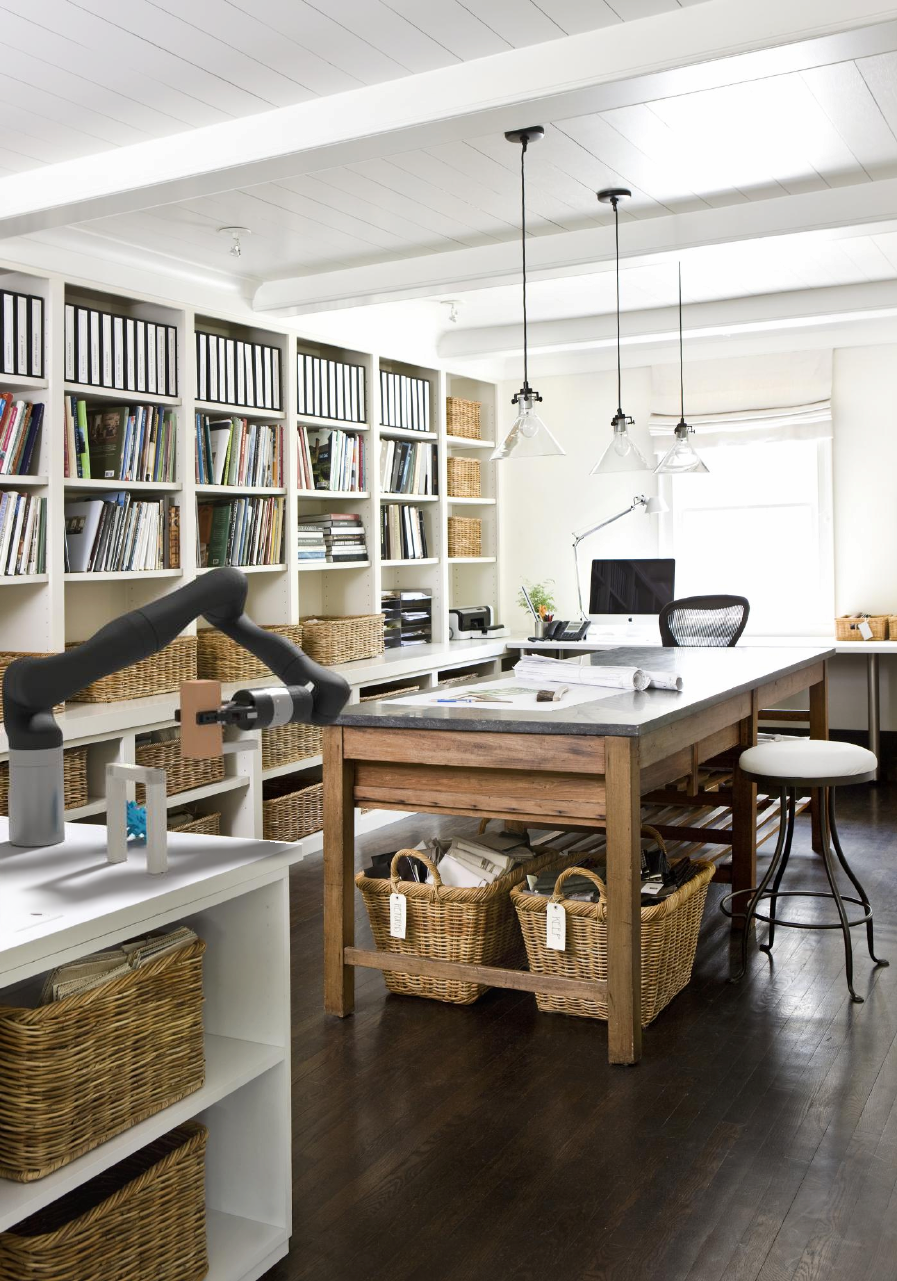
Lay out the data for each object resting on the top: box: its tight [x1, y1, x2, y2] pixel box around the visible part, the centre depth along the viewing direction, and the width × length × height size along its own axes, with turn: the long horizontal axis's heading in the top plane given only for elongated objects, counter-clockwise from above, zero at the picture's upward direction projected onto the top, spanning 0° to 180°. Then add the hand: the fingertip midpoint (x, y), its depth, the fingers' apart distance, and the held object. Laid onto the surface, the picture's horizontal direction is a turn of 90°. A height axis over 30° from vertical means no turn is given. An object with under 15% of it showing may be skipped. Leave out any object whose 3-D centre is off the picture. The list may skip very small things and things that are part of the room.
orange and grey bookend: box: [179, 679, 259, 760], centre depth 202 cm, size 5×14×13 cm, turn 137°
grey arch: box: [105, 761, 168, 875], centre depth 189 cm, size 13×2×16 cm, turn 50°
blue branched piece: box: [126, 799, 147, 843], centre depth 207 cm, size 11×6×10 cm
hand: (186, 717), depth 196 cm, fingers closed on orange and grey bookend, 5 cm apart
